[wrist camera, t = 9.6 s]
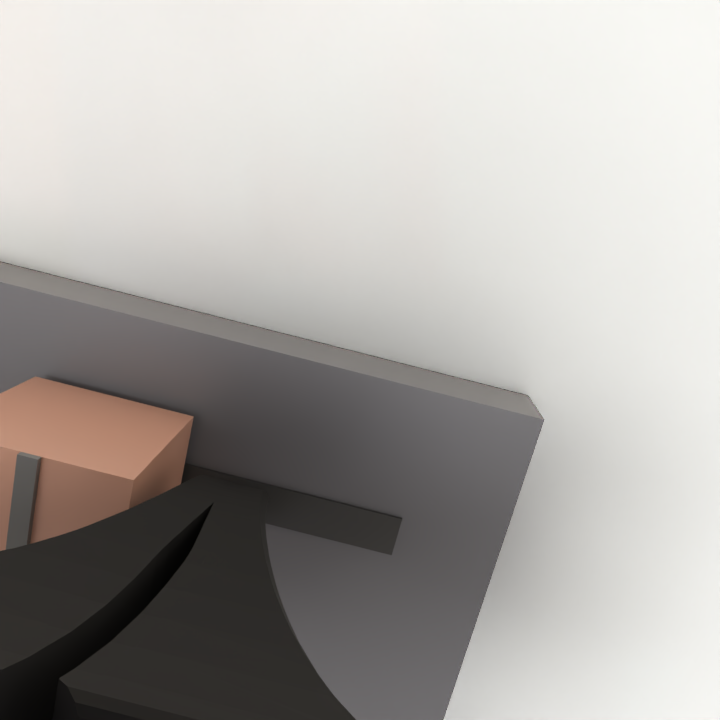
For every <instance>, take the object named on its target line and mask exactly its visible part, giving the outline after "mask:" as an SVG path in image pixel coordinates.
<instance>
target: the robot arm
mask: <svg viewBox="0 0 720 720" xmlns="http://www.w3.org/2000/svg"><path fill="white" fill-rule="evenodd" d="M269 499H270V498H269V496H268V495H267V493H266V491H265V490H261V489H257V488H253V487H249V486H245V485H241V484H237V483H233V482H230V481H226V480H222V479H218V478H214V477H210V476H206V475H202V474H201V475H199V476H197V477H194V478H192V479H190V480H188V481H186V482H184V483H182V484H180V485H178V486H176V487H174V488H172V489H170V490H168V491H166V492H164V493H162V494H160V495H158V496H156V497H154V498H151V499H149V500H147V501H145V502H143V503H141V504H139V505H137V506H135V507H132V508H130V509H128V510H125V511H123V512H120V513H118V514H115V515H113V516H110V517H108V518H105V519H103V520H100V521H98V522H95V523H93V524H91V525H88V526H86V527H83V528H80V529H77V530H74V531H71V532H68V533H65V534H62V535H59V536H56V537H52V538H49V539H45V540H42V541H38V542H35V543H31V544H28V545H24V546H20V547H16V548H12V549H7V550H2V551H0V720H356V719H355V718H354V717H353V716H352V715H351V714H350V713H349V711H348V710H347V709H346V708H345V707H344V706H343V705H342V704H341V703H340V702H339V701H338V699H337V698H336V697H335V696H334V695H333V694H332V692H331V691H330V690H329V688H328V687H327V686H326V684H325V683H324V681H323V680H322V679H321V677H320V676H319V675H318V673H317V671H316V670H315V668H314V666H313V665H312V663H311V661H310V660H309V658H308V656H307V655H306V653H305V651H304V649H303V648H302V646H301V644H300V643H299V641H298V639H297V637H296V634H295V632H294V630H293V628H292V626H291V624H290V622H289V619H288V617H287V614H286V612H285V609H284V607H283V604H282V601H281V598H280V596H279V593H278V589H277V586H276V583H275V579H274V575H273V571H272V567H271V562H270V557H269V551H268V544H267V538H266V526H265V516H266V512H267V507H268V503H269Z"/></svg>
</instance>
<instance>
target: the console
mask: <svg viewBox="0 0 720 720" xmlns="http://www.w3.org/2000/svg"><path fill="white" fill-rule="evenodd" d="M35 376H36V377H40V378H44V379H48V380H52V381H56V382H60V383H64V384H68V385H71V386H75V387H79V388H83V389H87V390H91V391H95V392H99V393H103V394H107V395H111V396H115V397H119V398H123V399H127V400H131V401H135V402H139V403H143V404H147V405H151V406H154V407H158V408H162V409H166V410H170V411H174V412H178V413H182V414H186V415H190V416H194V418H193V423H192V428H191V433H190V439H189V444H188V449H187V454H186V460H185V465H184V470H183V475H182V480H181V484H182V483H184V482H186V481H188V480H190V479H192V478H194V477H197V476H199V475H201V474H202V475H206V476H210V477H214V478H218V479H222V480H226V481H230V482H233V483H237V484H241V485H245V486H249V487H253V488H257V489H261V490H265V491H266V493H267V495H268V496H269V498H270V499H269V503H268V507H267V512H266V516H265V526H266V538H267V544H268V551H269V557H270V562H271V567H272V571H273V575H274V579H275V583H276V586H277V589H278V593H279V596H280V598H281V601H282V604H283V607H284V609H285V612H286V614H287V617H288V619H289V622H290V624H291V626H292V628H293V630H294V632H295V634H296V637H297V639H298V641H299V643H300V644H301V646H302V648H303V649H304V651H305V653H306V655H307V656H308V658H309V660H310V661H311V663H312V665H313V666H314V668H315V670H316V671H317V673H318V675H319V676H320V677H321V679H322V680H323V681H324V683H325V684H326V686H327V687H328V688H329V690H330V691H331V692H332V694H333V695H334V696H335V697H336V698H337V699H338V701H339V702H340V703H341V704H342V705H343V706H344V707H345V708H346V709H347V710H348V711H349V713H350V714H351V715H352V716H353V717H354V718H355V719H356V720H443V719H444V716H445V713H446V710H447V707H448V704H449V701H450V698H451V695H452V692H453V689H454V686H455V683H456V680H457V677H458V674H459V671H460V668H461V665H462V662H463V659H464V656H465V653H466V650H467V647H468V644H469V641H470V638H471V635H472V633H473V630H474V627H475V624H476V621H477V618H478V615H479V612H480V609H481V606H482V603H483V600H484V597H485V594H486V591H487V588H488V585H489V582H490V579H491V576H492V573H493V570H494V567H495V564H496V561H497V558H498V555H499V552H500V549H501V546H502V543H503V540H504V537H505V535H506V532H507V529H508V526H509V523H510V520H511V517H512V514H513V511H514V508H515V505H516V502H517V499H518V496H519V493H520V490H521V487H522V484H523V481H524V478H525V475H526V472H527V469H528V466H529V463H530V460H531V457H532V454H533V451H534V448H535V445H536V442H537V440H538V437H539V434H540V431H541V428H542V425H543V422H544V419H543V417H542V416H541V414H540V413H539V411H538V410H537V408H536V407H535V405H534V404H533V402H532V401H531V399H530V397H529V396H527V395H524V394H520V393H516V392H512V391H508V390H504V389H500V388H496V387H492V386H488V385H484V384H480V383H476V382H472V381H468V380H464V379H460V378H456V377H453V376H449V375H445V374H441V373H437V372H433V371H429V370H425V369H421V368H417V367H413V366H409V365H405V364H401V363H397V362H393V361H389V360H385V359H382V358H378V357H374V356H370V355H366V354H362V353H358V352H354V351H350V350H346V349H342V348H338V347H334V346H330V345H326V344H322V343H318V342H315V341H311V340H307V339H303V338H299V337H295V336H291V335H287V334H283V333H279V332H275V331H271V330H267V329H263V328H259V327H255V326H251V325H247V324H244V323H240V322H236V321H232V320H228V319H224V318H220V317H216V316H212V315H208V314H204V313H200V312H196V311H192V310H188V309H184V308H180V307H176V306H173V305H169V304H165V303H161V302H157V301H153V300H149V299H145V298H141V297H137V296H133V295H129V294H125V293H121V292H117V291H113V290H109V289H105V288H102V287H98V286H94V285H90V284H86V283H82V282H78V281H74V280H70V279H66V278H62V277H58V276H54V275H50V274H46V273H42V272H38V271H34V270H31V269H27V268H23V267H19V266H15V265H11V264H7V263H3V262H0V393H2V392H5V391H7V390H9V389H11V388H13V387H15V386H17V385H19V384H21V383H23V382H25V381H27V380H29V379H31V378H33V377H35Z"/></svg>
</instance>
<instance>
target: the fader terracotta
mask: <svg viewBox="0 0 720 720" xmlns="http://www.w3.org/2000/svg"><path fill="white" fill-rule="evenodd" d="M193 418H194V416H190V415H186V414H182V413H178V412H174V411H170V410H166V409H162V408H158V407H154V406H151V405H147V404H143V403H139V402H135V401H131V400H127V399H123V398H119V397H115V396H111V395H107V394H103V393H99V392H95V391H91V390H87V389H83V388H79V387H75V386H71V385H68V384H64V383H60V382H56V381H52V380H48V379H44V378H40V377H36V376H35V377H33V378H31V379H29V380H27V381H25V382H23V383H21V384H19V385H17V386H15V387H13V388H11V389H9V390H7V391H5V392H2V393H0V551H2V550H7V549H12V548H16V547H20V546H24V545H28V544H31V543H35V542H38V541H42V540H45V539H49V538H52V537H56V536H59V535H62V534H65V533H68V532H71V531H74V530H77V529H80V528H83V527H86V526H88V525H91V524H93V523H95V522H98V521H100V520H103V519H105V518H108V517H110V516H113V515H115V514H118V513H120V512H123V511H125V510H128V509H130V508H132V507H135V506H137V505H139V504H141V503H143V502H145V501H147V500H149V499H151V498H154V497H156V496H158V495H160V494H162V493H164V492H166V491H168V490H170V489H172V488H174V487H176V486H178V485H180V484H181V480H182V475H183V470H184V465H185V460H186V454H187V449H188V444H189V439H190V433H191V428H192V423H193Z"/></svg>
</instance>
